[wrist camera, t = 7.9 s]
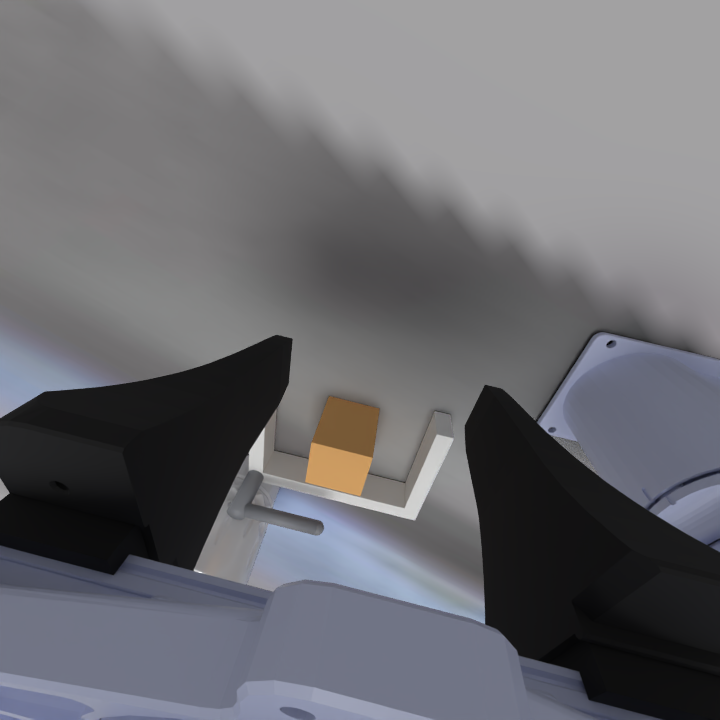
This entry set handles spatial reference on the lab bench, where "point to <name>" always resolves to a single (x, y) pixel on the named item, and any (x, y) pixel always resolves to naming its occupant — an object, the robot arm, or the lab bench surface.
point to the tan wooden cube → (343, 446)
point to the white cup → (236, 536)
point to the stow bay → (374, 494)
